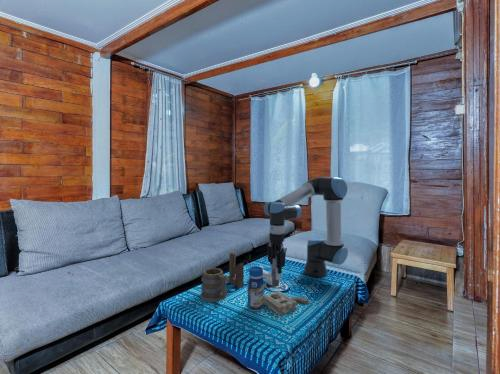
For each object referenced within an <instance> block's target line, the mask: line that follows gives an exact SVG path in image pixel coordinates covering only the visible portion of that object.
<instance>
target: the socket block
mask: <svg viewBox="0 0 500 374" xmlns="http://www.w3.org/2000/svg"><path fill="white" fill-rule="evenodd" d="M297 304H298V302H296V301H294V300H293V299H291V297H290V296H288V295H286V294H284V293H283V292H281V291H275V292H271V293H268V294H264V306H266V307H267V308H269V309H270V310H272V311H274V313H276V314H278V315H279V316H280V315H283V314H286V313H290V312H292V311H294V310H297V308H298V306H297Z"/></svg>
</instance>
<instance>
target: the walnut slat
mask: <svg viewBox="0 0 500 374" xmlns="http://www.w3.org/2000/svg"><path fill="white" fill-rule="evenodd" d="M290 298H291V299H293V300H294V301H296V302H297V304H298V303H299V304H305V305H308V304H309V298H305V297H300V296H299V297H298V296H293V295H291V297H290Z"/></svg>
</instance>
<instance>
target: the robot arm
mask: <svg viewBox="0 0 500 374" xmlns="http://www.w3.org/2000/svg"><path fill="white" fill-rule="evenodd" d="M301 185H302V186H300V187H298V188H297V189H295V190H293V191H291V192H289V193H287V194H286V195H284V196H282V197H281V198H279V199H276V200H274V201H266V202H265V204H264V205H263V213H264V214H265V215H267V216H269V238H268V239H269V241H270V242H267V243H266V246H267V261H268V262H269V264H270V272H271V277H272V264H273V258H274V257H277V266H276V280H279V281H280V280H281V279H282V271H283V270H282V268H284V267H286V255H287V254H286V253H287V250H288V248H287V247H284V242H285V221H289V220H290V221H291V220H296V219H297V220H298V219H299V218H300V217H301V216H302V212H303V210H302V208H301V206H300V205H299V204H298V203H300V202H302V201H304V200H306V199H307V198H312V197H314V196H323V201H324V202H325V207H326V208H325V209H326V215H325V216H326V239H325V238H324V237H322V238H321V237H314V238H309V239H308V240H307V245H306V246H307V247H306V248H307V249H306V250H307V251H306V262H305V265H304V267H303V268H304V269H303V273H304V274H305V275H307V276H310V277H316V278H319V277H320V278H321V277H325V276H327V275H328V268H327V266H326V265H327V264H326V262H328V263H331V264H334V265H338V266H340V265H343V264H344V263H345V262H346V260H347V258H348V255H349V250H348V247H346V246H345V244H344V241H343V240H342V210H341V209H342V207H341V203H342V202H343V200H344V198H345V197H346V196H347V193H348V185H347V182H346V181H345V180H344V179H343V178H341V177H334V176H331V177H330V176H328V177H327V176H326V177H325V176H318V177H315V178H312V179H310V180H308V181H306V182H304V183H303V184H301Z"/></svg>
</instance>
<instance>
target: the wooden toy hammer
mask: <svg viewBox="0 0 500 374" xmlns="http://www.w3.org/2000/svg"><path fill="white" fill-rule="evenodd" d="M228 257H229V261H228V262H229V263H228V264H229V266H228V268H229V273H228V274H229V275H227V276H228V278H229V279H230V280H229V281H228V283H229V284H231V285H234V286H235V287H236V288H242V287H244V281H245V280H244V278H245V277H244V276H245V275H244V273H245V272H244V270H245V269H244V267H245V263H244V262H242V263H238V265H236V252H229V256H228Z"/></svg>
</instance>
